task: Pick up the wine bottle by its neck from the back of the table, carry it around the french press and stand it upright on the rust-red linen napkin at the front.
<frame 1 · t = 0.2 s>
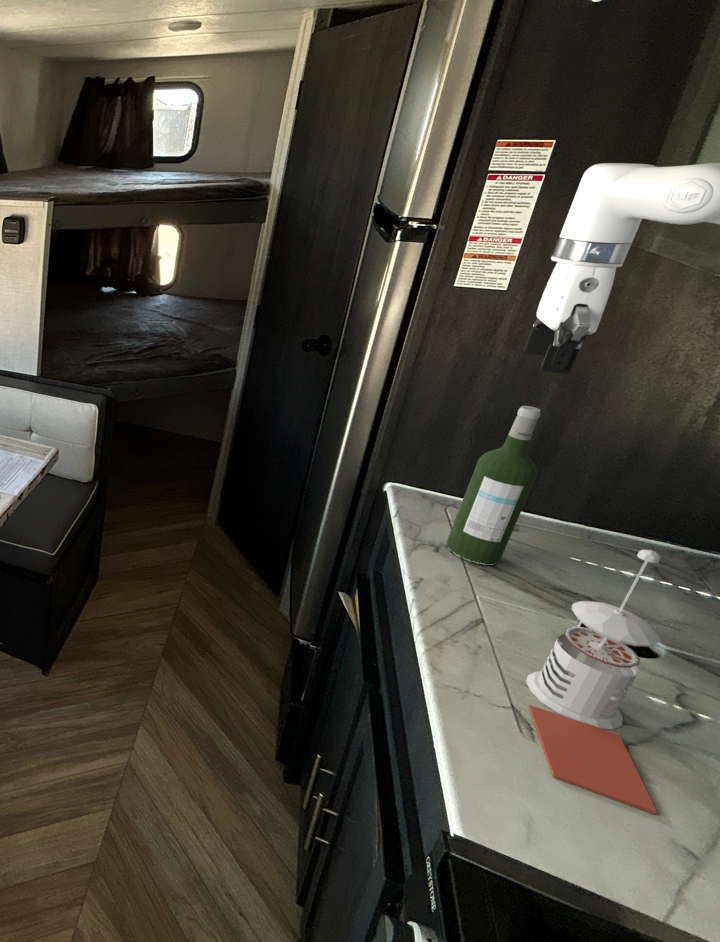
hand: (544, 362, 98), 40 cm above the counter, tool pointing down, fingers open, 9 cm apart
french press: (571, 695, 89), on the counter
wine bottle: (471, 554, 119), on the counter
napkin: (586, 756, 80), on the counter
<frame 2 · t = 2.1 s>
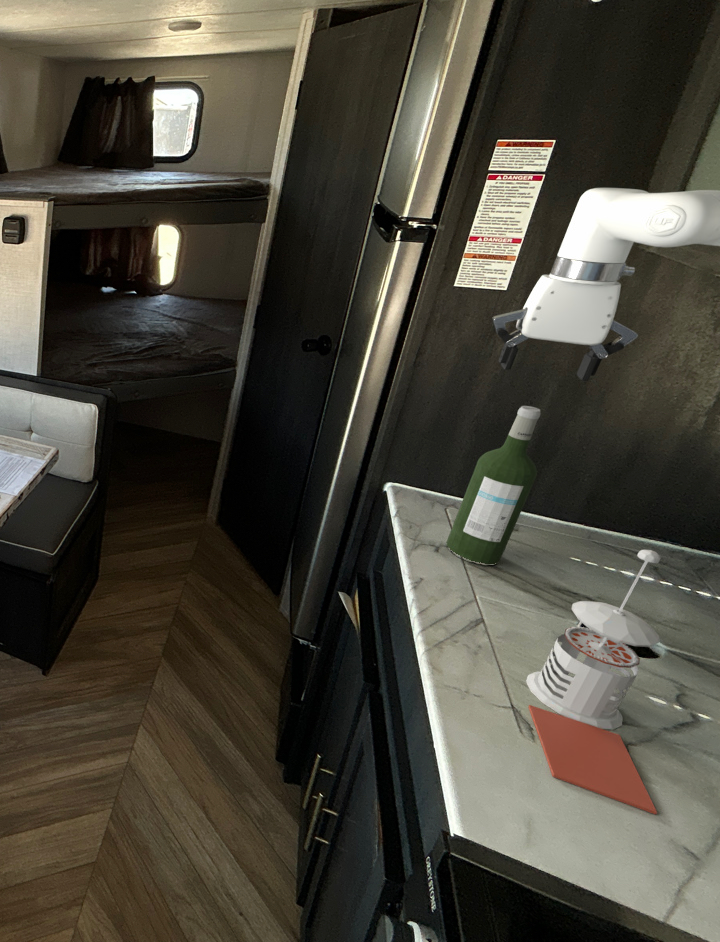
hand: (542, 373, 105), 37 cm above the counter, tool pointing down, fingers open, 9 cm apart
nothing on the counter moved.
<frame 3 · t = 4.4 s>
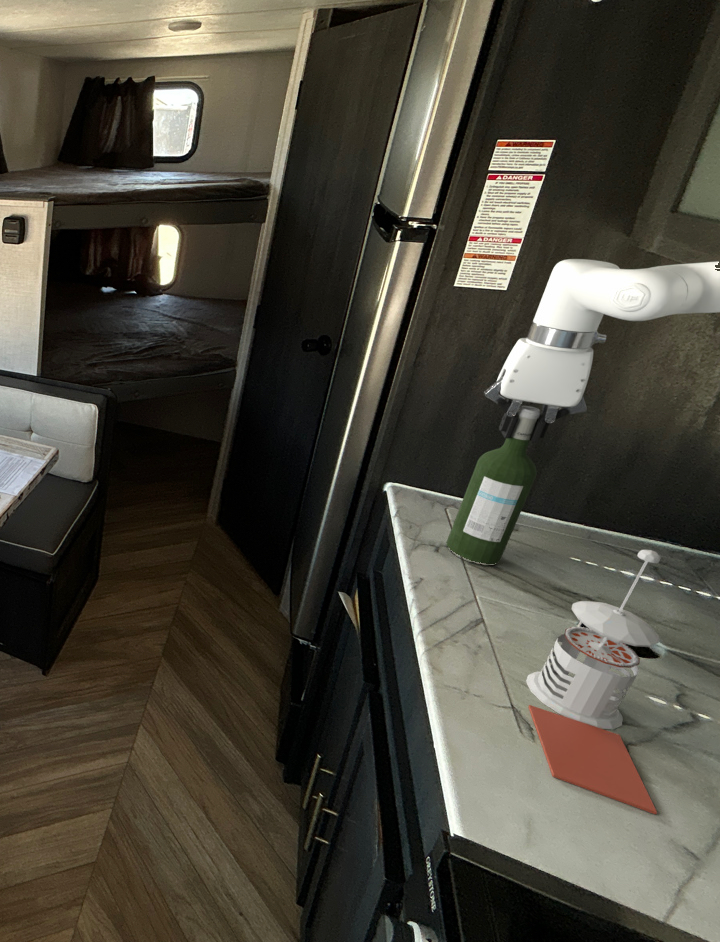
hand: (519, 436, 109), 25 cm above the counter, tool pointing down, fingers closed on wine bottle, 2 cm apart
wine bottle: (471, 554, 119), on the counter, touching gripper
everything else where it was.
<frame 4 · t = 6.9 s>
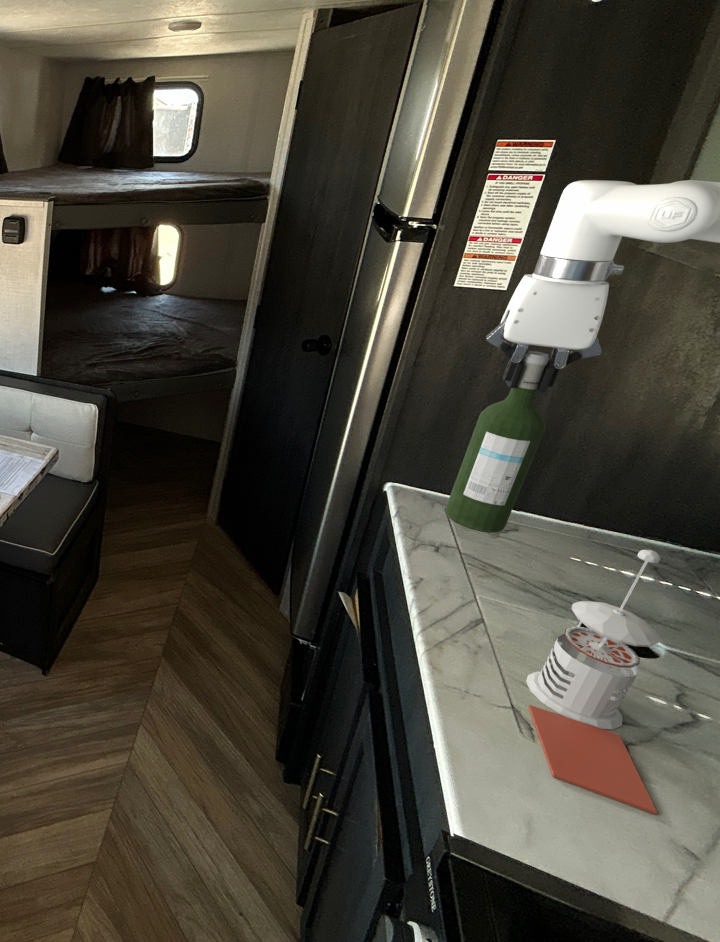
hand: (525, 386, 98), 37 cm above the counter, tool pointing down, fingers closed on wine bottle, 2 cm apart
wine bottle: (473, 521, 107), point 12 cm above the counter, touching gripper
everything else where it was.
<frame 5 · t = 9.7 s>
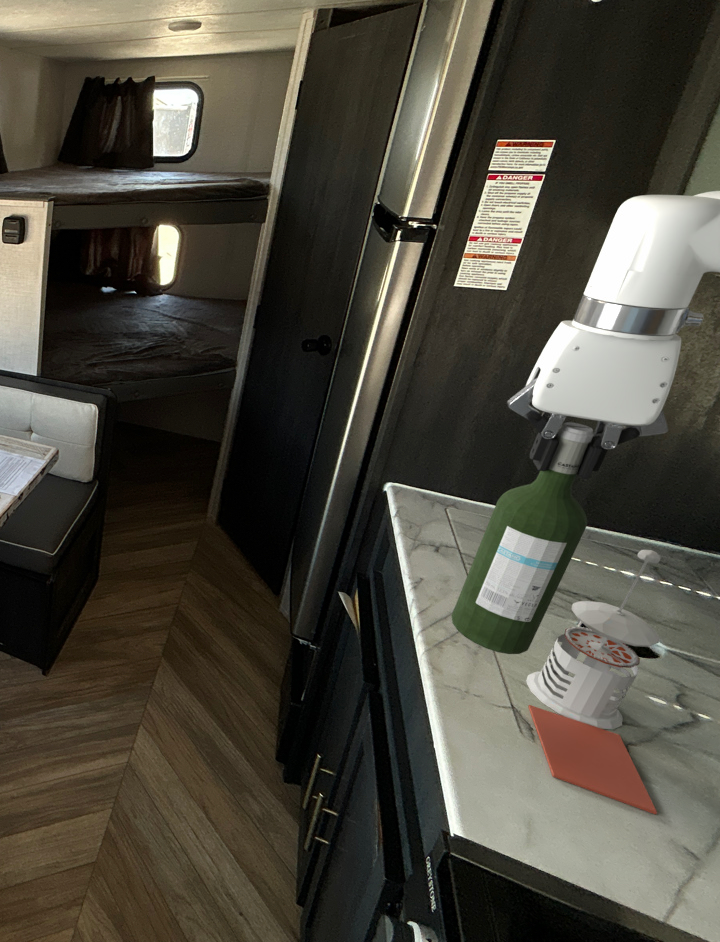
hand: (559, 468, 73), 37 cm above the counter, tool pointing down, fingers closed on wine bottle, 2 cm apart
wine bottle: (487, 634, 83), point 12 cm above the counter, touching gripper
everything else where it was.
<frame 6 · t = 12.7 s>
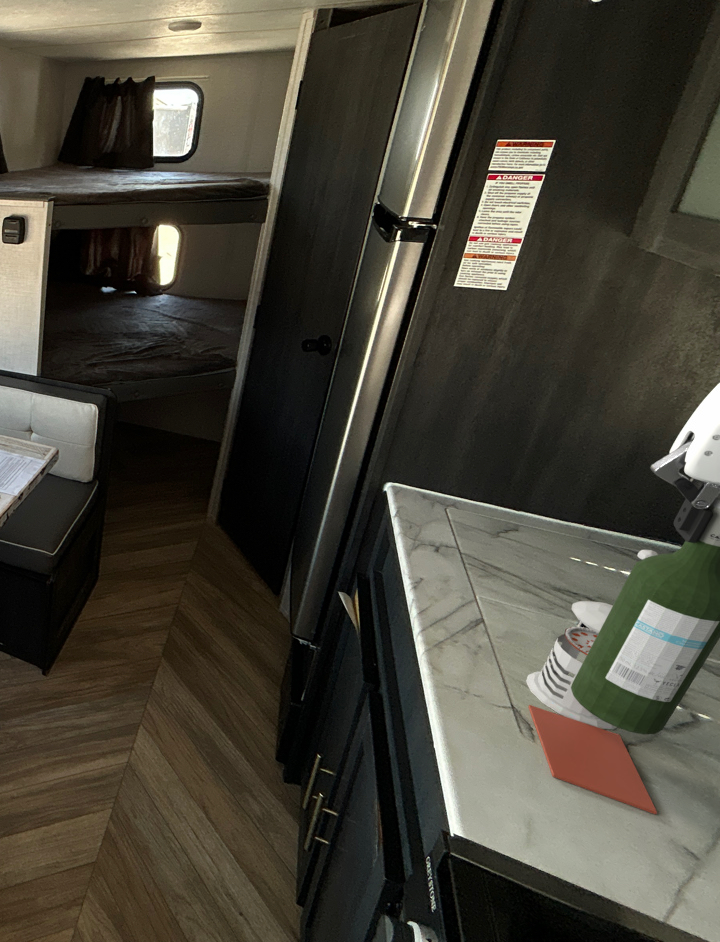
hand: (709, 540, 67), 33 cm above the counter, tool pointing down, fingers closed on wine bottle, 2 cm apart
wine bottle: (613, 709, 77), point 8 cm above the counter, touching gripper
everything else where it was.
when the fingers open (25 cm above the counter, at t = 15.0 s): wine bottle stays where it is, resting on napkin.
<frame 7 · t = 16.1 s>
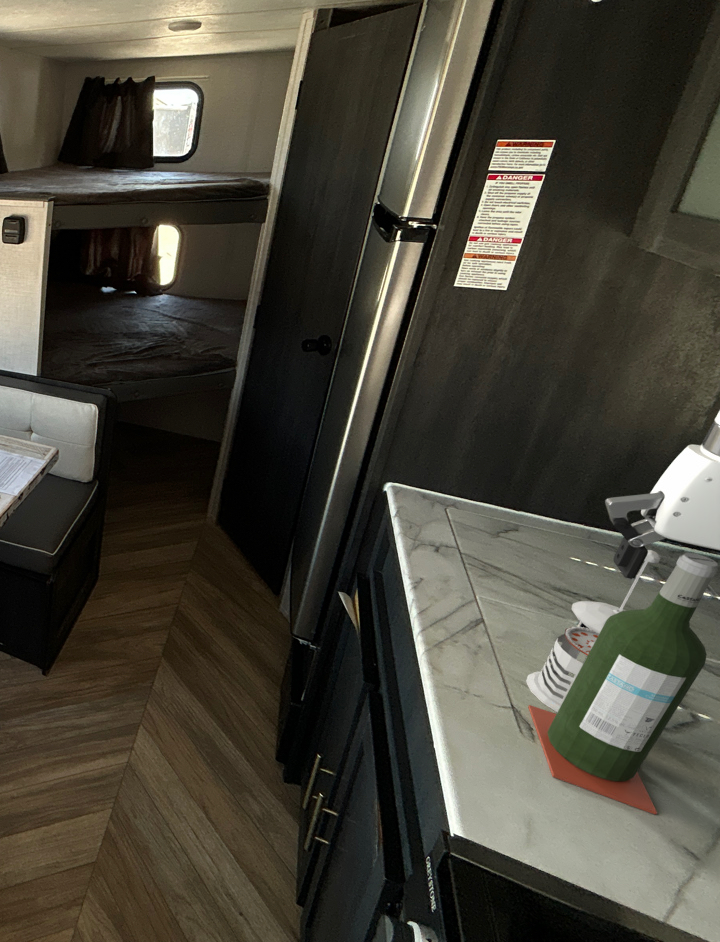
hand: (684, 586, 70), 27 cm above the counter, tool pointing down, fingers open, 9 cm apart
wine bottle: (587, 754, 80), resting on napkin
napkin: (586, 756, 80), on the counter, touching wine bottle
everything else where it was.
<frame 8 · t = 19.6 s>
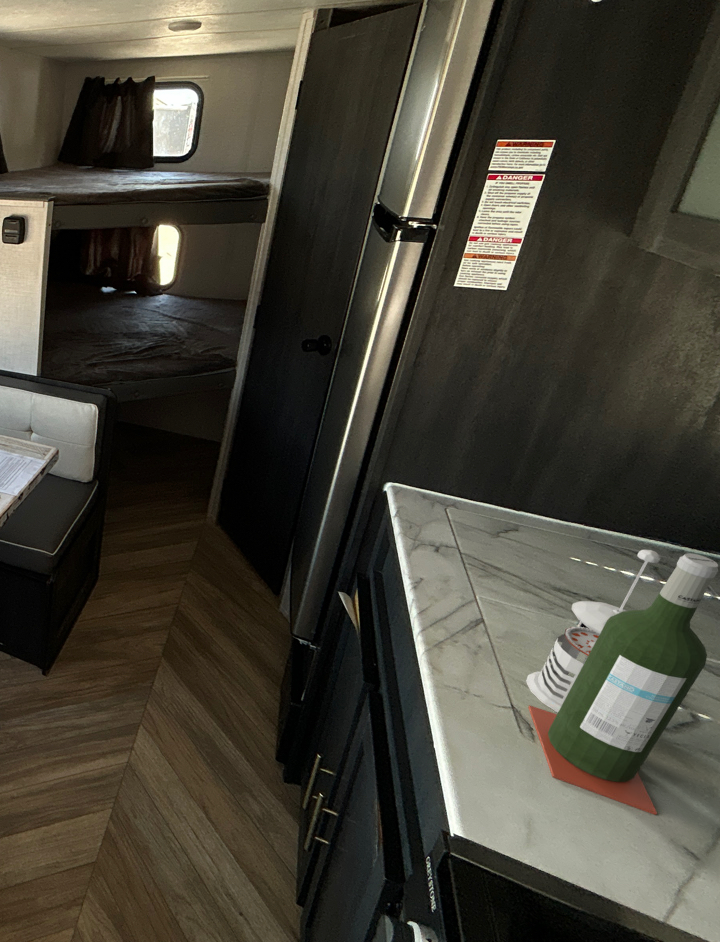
nothing on the counter moved.
at the end: wine bottle inside the target area on the napkin (0.1 cm from its centre), point 0.2 cm above the napkin's base; wine bottle tilted 0°; the gripper is holding nothing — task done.
